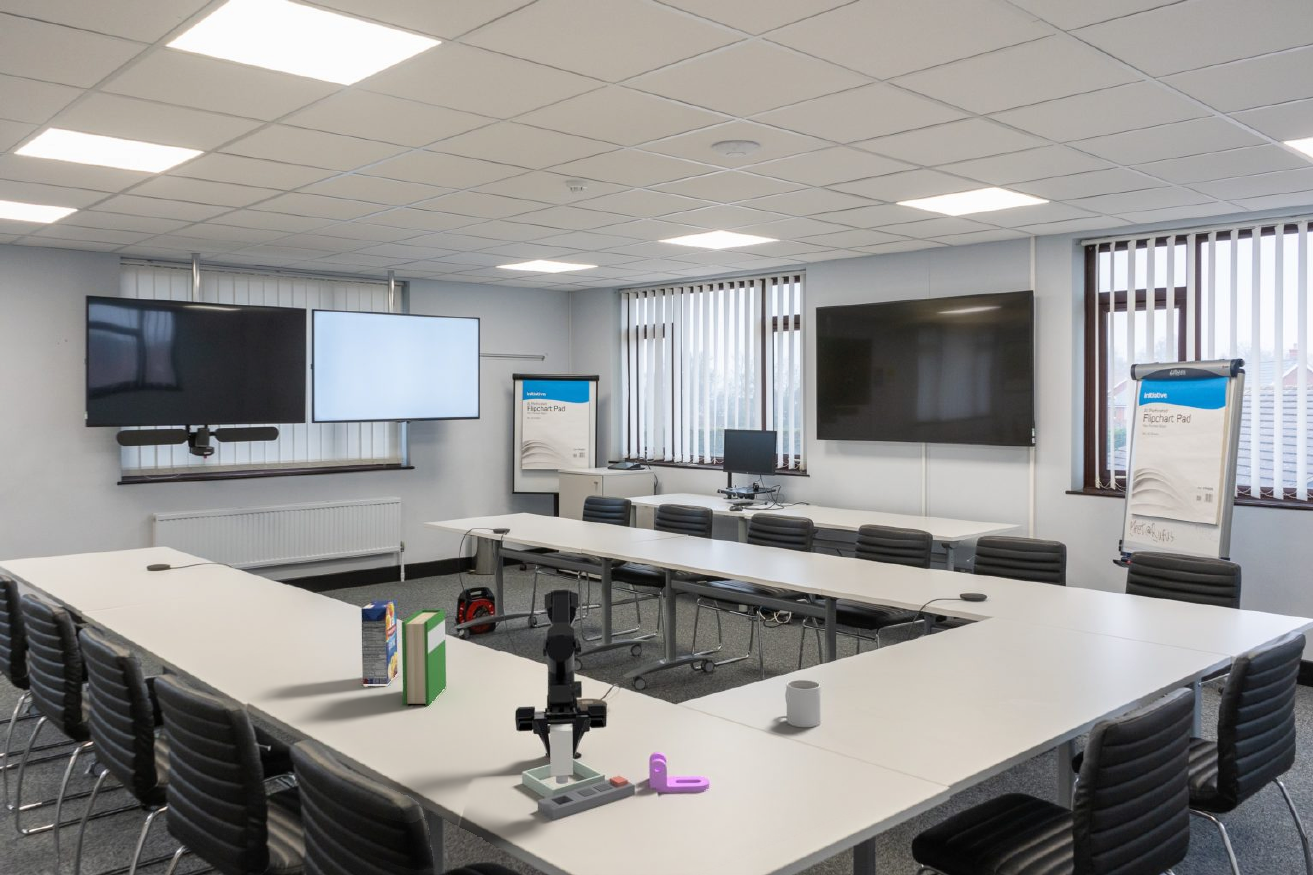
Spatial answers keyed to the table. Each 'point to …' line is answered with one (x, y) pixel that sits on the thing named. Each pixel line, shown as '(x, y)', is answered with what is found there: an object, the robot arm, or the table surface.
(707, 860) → the table surface
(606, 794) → the power strip
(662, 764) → the bracket
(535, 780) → the tray
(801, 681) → the mug
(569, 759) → the white long block
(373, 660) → the juice carton
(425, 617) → the hardback book
